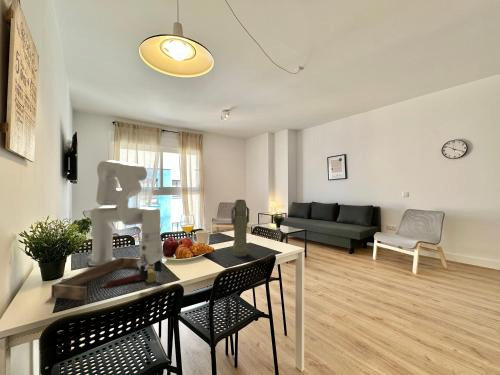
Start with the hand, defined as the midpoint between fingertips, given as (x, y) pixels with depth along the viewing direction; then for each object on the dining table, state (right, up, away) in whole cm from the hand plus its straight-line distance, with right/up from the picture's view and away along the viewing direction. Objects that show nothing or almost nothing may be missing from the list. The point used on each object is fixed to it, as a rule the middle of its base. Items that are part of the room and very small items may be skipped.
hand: (151, 275), depth 96 cm
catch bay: (-22, -4, +4) cm, 23 cm away
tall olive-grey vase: (+37, -4, +42) cm, 57 cm away
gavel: (-10, -4, +2) cm, 11 cm away
